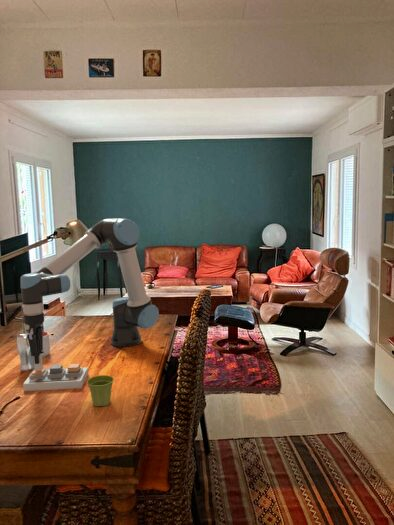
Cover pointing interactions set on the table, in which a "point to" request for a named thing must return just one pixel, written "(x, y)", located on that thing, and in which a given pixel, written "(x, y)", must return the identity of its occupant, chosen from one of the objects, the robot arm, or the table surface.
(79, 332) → the table surface
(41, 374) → the key
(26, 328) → the coffee can
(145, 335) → the table surface
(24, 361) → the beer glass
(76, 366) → the key
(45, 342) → the cup
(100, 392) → the plant pot
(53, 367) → the key middle
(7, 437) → the table surface
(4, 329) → the table surface
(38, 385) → the console
